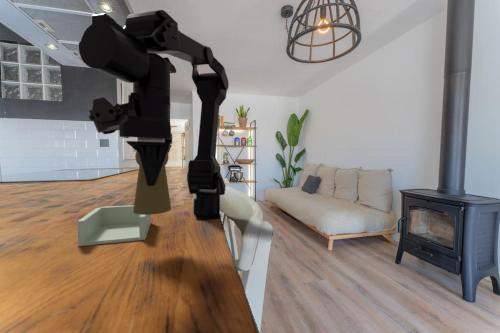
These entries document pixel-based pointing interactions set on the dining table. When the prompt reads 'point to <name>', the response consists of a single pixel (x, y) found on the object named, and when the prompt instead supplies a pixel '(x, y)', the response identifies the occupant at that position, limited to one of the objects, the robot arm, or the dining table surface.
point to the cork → (151, 192)
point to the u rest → (112, 226)
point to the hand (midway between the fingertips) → (152, 183)
